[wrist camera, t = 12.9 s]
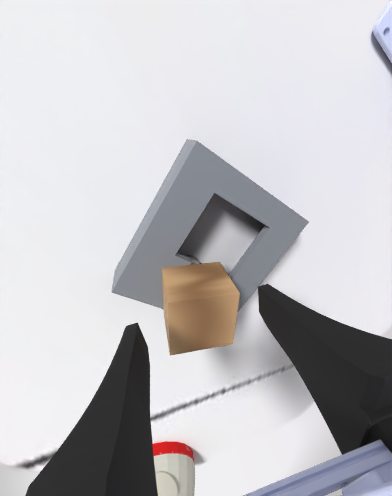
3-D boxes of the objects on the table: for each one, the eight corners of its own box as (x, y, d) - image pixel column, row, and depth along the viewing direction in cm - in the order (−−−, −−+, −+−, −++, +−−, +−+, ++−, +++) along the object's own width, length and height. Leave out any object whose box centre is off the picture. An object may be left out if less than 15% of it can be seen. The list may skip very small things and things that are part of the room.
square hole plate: (286, 210, 23) (309, 221, 20) (214, 306, 26) (224, 328, 23) (186, 139, 18) (196, 140, 15) (115, 270, 21) (111, 292, 18)
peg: (209, 245, 22) (239, 293, 16) (207, 287, 24) (232, 343, 18) (158, 250, 21) (167, 302, 15) (160, 292, 23) (170, 355, 17)
